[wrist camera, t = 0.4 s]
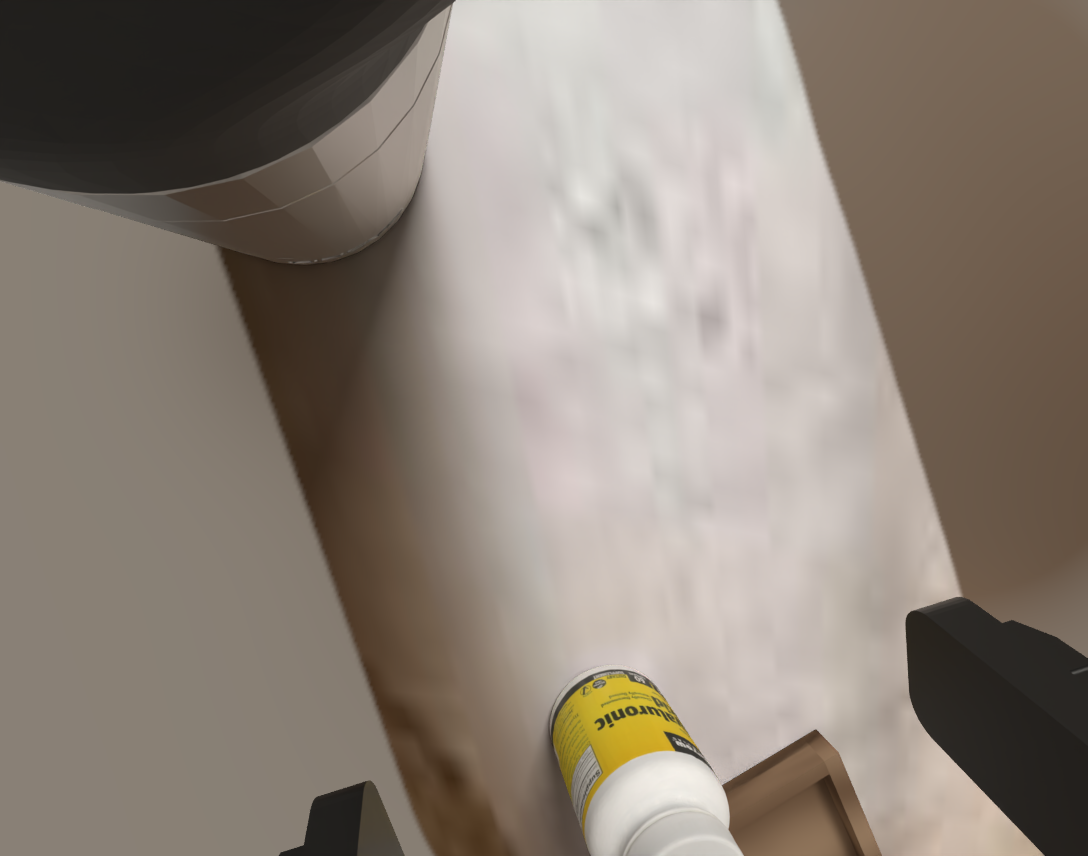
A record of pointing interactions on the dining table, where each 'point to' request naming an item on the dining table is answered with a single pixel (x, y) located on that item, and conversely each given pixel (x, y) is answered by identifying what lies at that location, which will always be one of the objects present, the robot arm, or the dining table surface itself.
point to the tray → (799, 805)
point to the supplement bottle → (636, 770)
